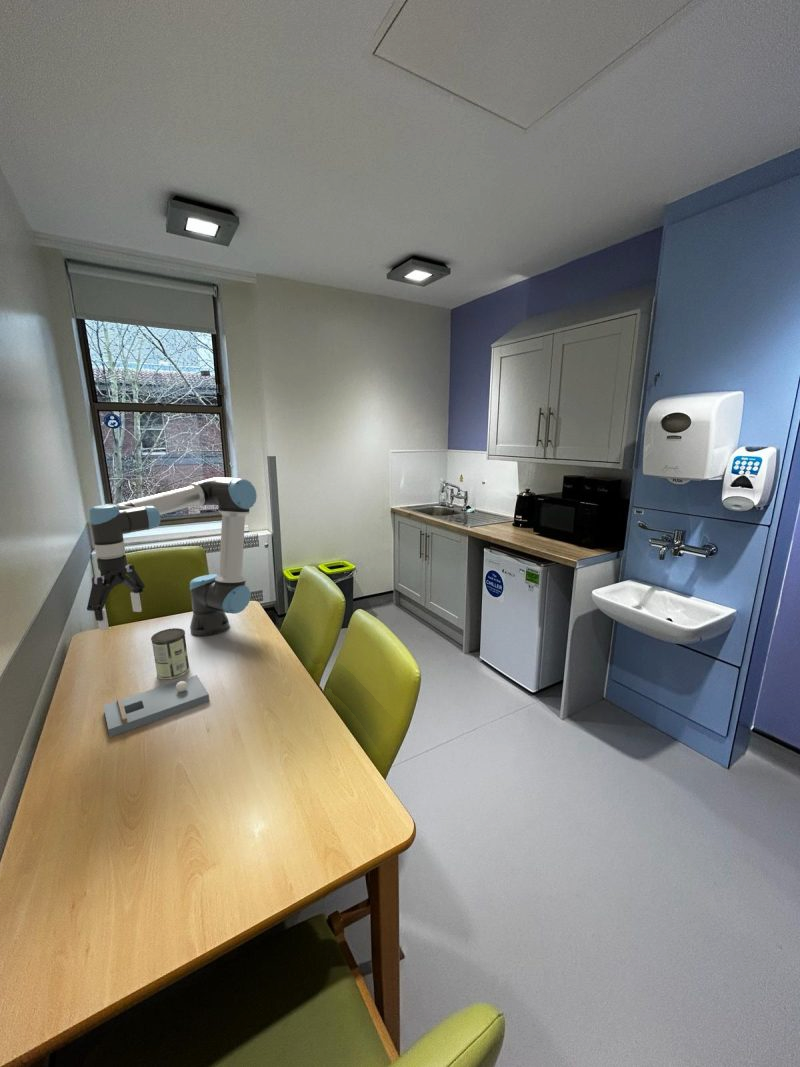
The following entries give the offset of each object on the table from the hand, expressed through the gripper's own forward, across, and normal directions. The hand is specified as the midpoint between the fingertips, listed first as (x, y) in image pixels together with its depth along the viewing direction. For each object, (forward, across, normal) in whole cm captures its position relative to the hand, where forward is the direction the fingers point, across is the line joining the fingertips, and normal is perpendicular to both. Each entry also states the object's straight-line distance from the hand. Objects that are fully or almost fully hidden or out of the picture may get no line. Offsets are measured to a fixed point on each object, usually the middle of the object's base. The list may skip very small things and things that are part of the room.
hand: (121, 620), depth 136 cm
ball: (+19, +4, +21) cm, 29 cm away
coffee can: (+24, -10, +8) cm, 27 cm away
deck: (+23, +9, +16) cm, 30 cm away
